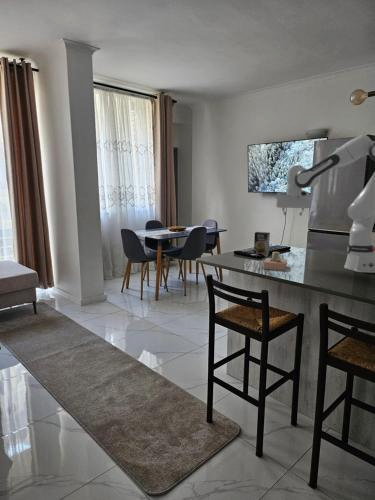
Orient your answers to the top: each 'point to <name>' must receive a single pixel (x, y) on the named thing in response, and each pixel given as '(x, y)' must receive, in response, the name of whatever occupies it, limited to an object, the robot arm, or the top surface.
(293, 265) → the top surface
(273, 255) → the ash peg
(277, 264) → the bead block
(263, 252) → the coffee box
